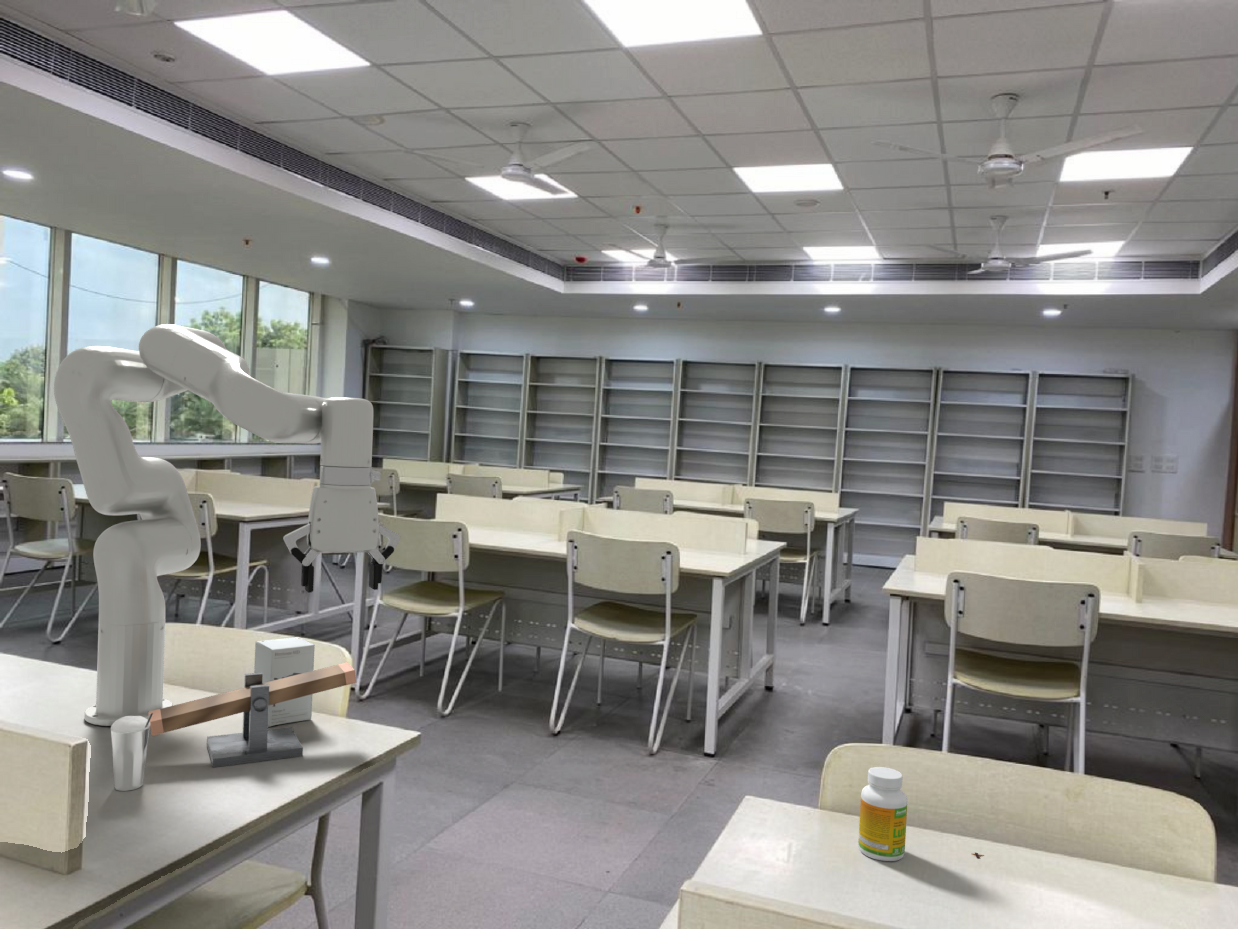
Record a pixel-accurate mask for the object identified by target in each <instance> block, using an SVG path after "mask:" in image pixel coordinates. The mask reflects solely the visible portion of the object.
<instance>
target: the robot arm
mask: <svg viewBox="0 0 1238 929" xmlns="http://www.w3.org/2000/svg"><path fill="white" fill-rule="evenodd" d="M187 391H189V392H190V393H193V394H194V395H197V396H198V397H199V398H202V399H204V400H206V401H208V402H209V403H212V404H213V407H214V408H215V409H216V410H217V412H218V413H219V414H220V415H221V416H223V417H224V418H225V419H226V420H228V421H229V422H230V423H232V424H234V425H236V426H237V427H239V428H241V429H243V430H245V431H248V432H249V433H251V434H253V435H255V436H257V437H259V438H262V439H264V440H266V441H270V442H272V443H273V442H274V443H277V444H278V443H279V444H304V445H305V444H306V445H307V444H308V445H309V444H310V445H311V444H320V458H319V459H320V461H319V465H320V467H319V485H317V486H316V485H315V486H313V489H312V493H311V498H310V504H309V511H308V520H307V524H305V525H303V526H301V527H299V528H297V529H294V530H293V531H291V532H289V533H286V534H285V535H284V536H283V537H282V538H283V539H282V540H283V541H284V543H285V546H286V547H287V549H288V551H289V553H290V554H291V555H292V556H293V557H294V558H295V559H296V560H297V561H298V562H299V563H300V564H301V578H300V579H301V580H300V582H301V587H304V590H305V592H307V593H313V592H314V585H315V584H314V582H315V581H314V578H315V567H314V565H313V561H314V560H315V559H316V558H317V557H318V556H319V555H320V554H349V553H350V554H351V553H352V554H353V553H355V554H356V553H367V554H368V555H369V556H370V557H371V561H370V562H369V572H368V575H369V576H368V587H369V588H371V589H372V590H374V591H378V589H379V584H381V583H382V581H383V580H382V577H383V575H382V574H383V564H385V562H386V561H387V559H388V558H389V557H390V556H391V555H392V554H393V553H394V552H395V549H396V547H397V545H398V544H399V542H400V540H401V538H402V537H401V535H400V534H399V533H397V532H395V531H393V530H392V529H388V528H387V527H385V526H383V525H381V524H379V523H380V520H379V509H378V508H379V507H378V506H379V505H378V499H377V493H376V488H375V487H372V486H371V485H373V483H374V482H375V481H381V477H382V474H381V473H382V472H381V471H376V470H374V469H373V467H372V464H373V463H372V461H373V459H372V458H373V438H374V436H373V435H374V434H373V433H374V406H373V404H372V402H371V401H370V400H368V399H365V398H359V397H343V396H341V397H339V396H335V397H328V398H327V397H322V396H321V397H320V396H318V395H317V396H316V395H309V394H307V395H306V394H301V393H291V392H283V391H280V390H278V389H276V388H273V387H271V386H269V385H267V384H265V383H263V382H261V381H260V380H257V379H255V378H253V377H252V376H250V367H249V364H248V362H247V361H246V359H245V358H243V357H242V356H240V355H238V354H237V353H235V352H232V351H230V350H228V349H227V348H226V346H225V344H224V342H223V341H222V340H221V339H220V338H219V337H218V336H216V335H215V334H213V333H211V332H209V331H207V330H203V329H198V328H193V327H188V326H183V325H178V324H171V323H169V324H168V323H166V324H165V323H164V324H158V325H155V326H153V327H151V328H149V329H148V330H146V331H145V332H144V333H143V334H142V336H141V338H140V339H139V343H138V350H131V349H127V348H126V349H125V348H119V347H113V346H106V345H105V346H102V345H91V346H84V347H81V348H78V349H75V350H73V351H70V353H69V354H67V355H66V356H65V357H64V359H63V360H62V361H61V362H60V364H59V366H58V368H57V371H56V374H55V376H54V382H53V393H54V394H53V395H54V400H55V405H56V406H57V410H58V412H59V416H60V417H61V419H62V421H63V422H62V423H63V424H64V426H65V428H66V431H67V433H68V435H69V438H70V442H71V445H72V449H73V453H74V457H75V460H76V463H77V467H78V470H79V473H80V476H81V477H80V478H81V481H82V483H83V488H84V490H85V494H86V497H87V500H88V502H89V503H90V505H91V507H92V509H94V511H96V512H97V513H99V514H102V515H105V516H128V515H129V516H130V515H138V514H139V515H140V518H141V519H138V520H136V519H135V520H130V521H122V522H119V523H117V524H112V526H110V527H108V528H106V529H105V530H104V531H102V532H101V534H100V535H99V536H98V537H97V539H96V541H95V543H94V546H93V554H92V556H93V563H94V564H93V565H94V569H95V574H96V580H97V586H98V587H97V588H98V590H97V591H98V631H97V632H98V634H97V666H96V667H97V668H96V669H97V670H96V691H95V692H96V694H95V695H96V696H95V704H93V705H91V706H89V707H88V708H87V709H85V711H84V720H85V721H86V722H87V723H89V724H92V725H95V726H102V727H111V726H112V724H113V723H114V722H115V721H116V720H118V719H120V718H122V717H125V716H142V717H144V718H146V719H148V718H149V711H153V710H157V709H162V708H166V707H170V706H174V704H173V702H172V701H171V700H169V699H166V698H164V677H165V676H164V671H165V646H166V645H165V641H166V600H165V596H164V592H163V590H162V588H161V585H160V584H159V581H158V577H159V576H163V575H169V574H174V573H178V572H182V571H185V570H187V569H189V568H190V567H192V565H194V563H195V562H197V560H198V558H199V556H200V553H201V548H202V547H201V546H202V544H201V534H200V530H199V526H198V523H197V520H196V516H195V513H194V509H193V506H192V502H191V500H190V496H189V493H188V489H187V487H186V484H185V481H184V479H183V476H182V475H181V473H180V471H179V470H178V469H177V468H176V467H175V466H174V464H172V463H171V462H170V461H168V460H166V459H163V458H160V457H153V456H152V457H151V456H150V457H149V456H140V455H139V454H138V452H137V449H136V447H135V444H134V441H133V440H134V439H133V437H132V433H131V429H130V428H129V426H128V424H127V422H126V421H125V419H124V418H123V416H122V415H121V414H120V413H119V412H118V411H117V409H115V407H114V406H113V404H112V401H113V400H114V401H126V402H136V403H152V402H158V401H161V400H165V399H169V398H171V397H174V396H176V395H179V394H181V393H184V392H187ZM380 535H382V536H383V537H385V538H387V539H388V540H387V542H386V545H385V546H383V548H381V550H379V549H378V547H379V542H380V540H379V539H380ZM305 536H306V543H307V547H308V548H307V549H306V550H305V551H304V553H303V552H302V551H301V549H300V548H299V547H298V545H297V541H298V540H300V539H301V538H303V537H305Z"/></svg>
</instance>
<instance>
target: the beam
mask: <svg viewBox="0 0 1238 929" xmlns="http://www.w3.org/2000/svg"><path fill="white" fill-rule="evenodd" d="M356 683H357V676H356V670H355V669H354V668H353V666H352V665H351V664H350V663H349V662H348V661H346V662H341V663H338V664H335V665H330V666H327V667H322V668H318V669H314V670H313V671H310V672H306V673H302V674H298V675H294V676H290V677H286V678H282V679H278V680H274V681H270V682H266V683H262V684H258V685H267V684H268V685H269V705H273V704H276V703H280V702H284V701H288V700H292V699H295V698H299V697H303V696H307V695H311V694H313V695H314V694H315V695H316V694H317V693H322V692H326V691H329V690H333V689H334V690H335V689H336V688H337V689H338V688H341V687H345V686H349V685H353V684H356ZM253 686H255V685H253ZM250 689H251V686H249V687H246V688H244V687H242V688H238V689H235V690H230V691H226V692H223V693H218V694H214V695H210V696H206V697H203V698H202V697H201V698H199V699H193V700H190V701H186V702H181V703H178V704H173V706H170V707H166V708H162V709H157V710H153V711H149V716H150V714H151V713H153V714H152V717H151V719H150V721H149V722H150V733H151V737H154V736H158V735H161V734H165V733H168V732H172V731H176V730H180V729H184V728H189V727H192V726H195V725H199V724H203V723H208V722H211V721H215V720H219V719H222V718H226V717H230V716H234V715H237V714H241V713H242V714H243V712H246V711H250Z"/></svg>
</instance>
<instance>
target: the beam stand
mask: <svg viewBox="0 0 1238 929" xmlns="http://www.w3.org/2000/svg"><path fill="white" fill-rule="evenodd" d="M262 678H263V674H262V672H261V673H254V672H253V673H252V672H251V673H244V683H243V684H244V686H243V688H246V687H249V686H251V689H250V711H246V712H242V715H243V716H242V732H238V733H236V732H235V733H228V734H220V735H219V734H218V735H212V736H211V735H210V736H207V737H206V748H207V751H208V754H209V759H210V761H211V766H212V768H219V767H226V766H227V767H228V766H235V765H244V764H251V763H260V762H267V761H274V760H281V759H291V758H298V757H303V755H304V747H303V745H302V744H301V742H300V740H299V738H298V736H297V735H296V733H295V731H294V729H293V727H283V728H274V729H273V728H272V729H269V727H268V709H269V685H268V684H267V685H258V684H262ZM253 685H255V686H253Z"/></svg>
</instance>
